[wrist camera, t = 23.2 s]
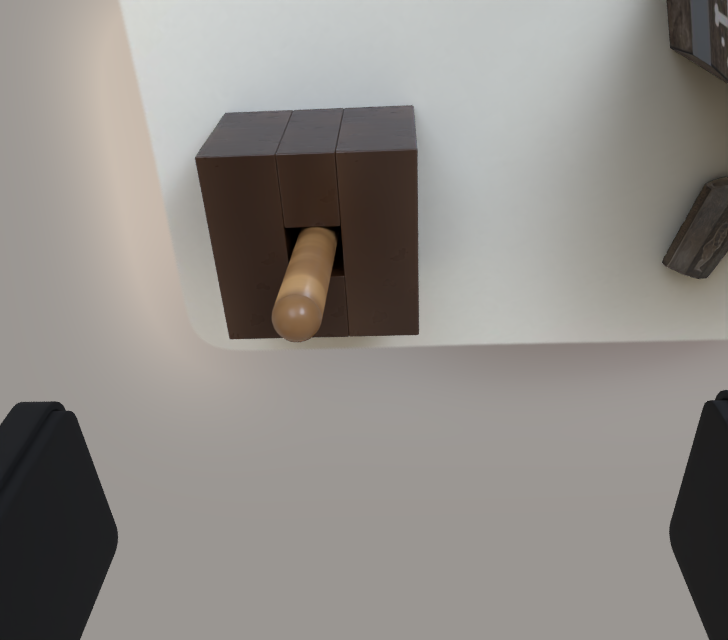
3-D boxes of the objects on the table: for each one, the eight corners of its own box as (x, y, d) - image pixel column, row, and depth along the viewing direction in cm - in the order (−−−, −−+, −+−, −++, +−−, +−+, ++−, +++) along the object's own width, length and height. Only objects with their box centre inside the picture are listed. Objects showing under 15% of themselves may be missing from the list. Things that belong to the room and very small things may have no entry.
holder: (251, 276, 44) (229, 339, 38) (224, 112, 38) (194, 157, 32) (415, 272, 43) (419, 335, 37) (413, 104, 38) (417, 148, 32)
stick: (304, 205, 41) (257, 332, 27) (324, 179, 40) (287, 295, 26) (331, 225, 42) (299, 360, 27) (351, 200, 41) (329, 325, 27)
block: (654, 256, 42) (664, 271, 41) (710, 167, 39) (723, 179, 37) (706, 273, 43) (718, 288, 41) (766, 186, 39) (781, 199, 38)
